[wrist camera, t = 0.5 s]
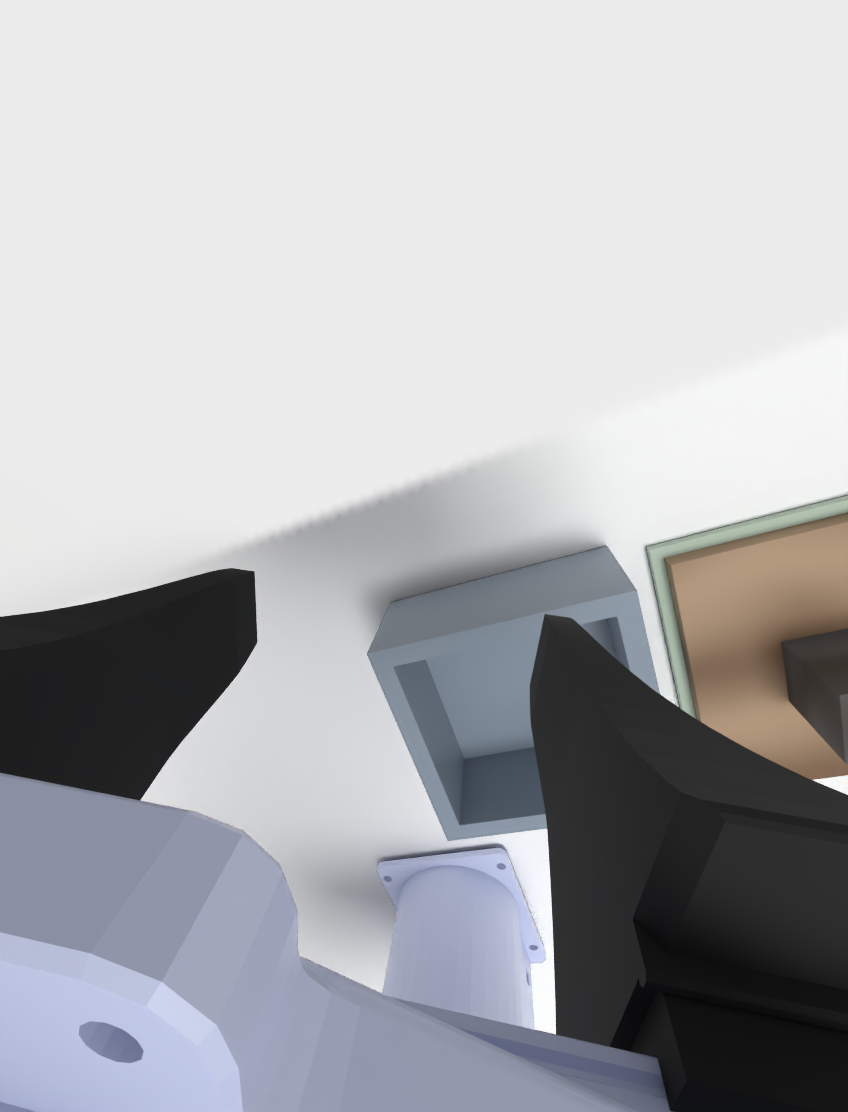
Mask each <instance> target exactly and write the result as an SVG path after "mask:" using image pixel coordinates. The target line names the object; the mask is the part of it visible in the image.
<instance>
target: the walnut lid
mask: <svg viewBox="0 0 848 1112" xmlns="http://www.w3.org/2000/svg"><path fill="white" fill-rule="evenodd" d="M664 560H665V565H666V570H667V575H668V580H669V585H670V590H671V595H672V600H673V605H674V610H675V615H676V620H677V625H678V630H679V635H680V640H681V645H682V650H683V655H684V660H685V665H686V670H687V675H688V680H689V685H690V690H691V695H692V700H693V705H694V710H695V715H696V719H697V720H699V721H700V722H702V723H703V724H705V725H707V726H708V727H710V728H712V729H714V730H715V731H717V732H719V733H721V734H722V735H724V736H726V737H728V738H729V739H731V740H733V741H735V742H736V743H738V744H740V745H742V746H744V747H745V748H747V749H749V750H751V751H753V752H755V753H757V754H759V755H761V756H763V757H765V758H767V759H769V760H771V761H773V762H775V763H777V764H779V765H781V766H783V767H785V768H787V769H789V770H792V771H794V772H796V773H798V774H800V775H802V776H804V777H806V778H808V779H810V780H814V779H821V778H829V777H836V776H844V775H848V512H847V513H843V514H839V515H835V516H831V517H827V518H823V519H819V520H815V521H811V522H807V523H803V524H799V525H795V526H791V527H787V528H783V529H779V530H774V531H770V532H766V533H762V534H758V535H754V536H750V537H746V538H742V539H738V540H734V541H730V542H726V543H722V544H718V545H714V546H710V547H706V548H702V549H698V550H694V551H690V552H686V553H682V554H678V555H674V556H670V557H666V558H664Z"/></svg>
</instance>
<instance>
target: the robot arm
mask: <svg viewBox="0 0 848 1112" xmlns="http://www.w3.org/2000/svg"><path fill="white" fill-rule="evenodd" d="M256 644H257V624H256V599H255V575H254V571H247V570H240V569H233V568H230V569H222V570H217V571H212V572H208V573H204V574H200V575H196V576H193V577H189V578H186V579H182V580H178V581H175V582H171V583H168V584H164V585H161V586H157V587H153V588H150V589H146V590H142V591H138V592H134V593H130V594H126V595H122V596H118V597H114V598H110V599H106V600H102V601H97V602H92V603H87V604H83V605H77V606H72V607H66V608H61V609H55V610H49V611H43V612H36V613H28V614H20V615H12V616H4V617H0V1112H848V795H846V794H844V793H841V792H839V791H836V790H834V789H831V788H829V787H827V786H824V785H822V784H819V783H817V782H815V781H813V780H810V779H808V778H806V777H804V776H802V775H800V774H798V773H796V772H794V771H792V770H789V769H787V768H785V767H783V766H781V765H779V764H777V763H775V762H773V761H771V760H769V759H767V758H765V757H763V756H761V755H759V754H757V753H755V752H753V751H751V750H749V749H747V748H745V747H744V746H742V745H740V744H738V743H736V742H735V741H733V740H731V739H729V738H728V737H726V736H724V735H722V734H721V733H719V732H717V731H715V730H714V729H712V728H710V727H708V726H707V725H705V724H703V723H702V722H700V721H699V720H697V719H695V718H694V717H692V716H691V715H689V714H688V713H686V712H685V711H683V710H682V709H680V708H679V707H677V706H676V705H674V704H673V703H671V702H670V701H669V700H667V699H666V698H664V697H663V696H661V695H660V694H659V693H657V692H656V691H655V690H653V689H652V688H651V687H649V686H648V685H647V684H646V683H644V682H643V681H642V680H641V679H639V678H638V677H637V676H636V675H634V674H633V673H632V672H631V671H630V670H628V669H627V668H626V667H625V666H624V665H623V664H621V663H620V662H619V661H618V660H617V659H616V658H615V657H614V656H612V655H611V654H610V653H609V652H608V651H607V650H606V649H605V648H604V647H603V646H602V645H601V644H599V643H598V642H597V641H596V640H595V639H594V638H593V637H592V636H591V635H590V634H589V633H588V632H587V631H586V630H585V629H584V628H583V627H581V626H580V625H579V624H578V623H577V622H576V621H575V620H573V619H572V618H569V617H562V616H556V615H549V614H545V615H544V620H543V624H542V629H541V634H540V639H539V643H538V648H537V653H536V658H535V662H534V667H533V672H532V677H531V682H530V721H531V729H532V735H533V741H534V747H535V754H536V759H537V765H538V771H539V777H540V783H541V789H542V795H543V801H544V807H545V814H546V822H547V830H548V845H549V861H550V877H551V897H552V918H553V941H554V970H555V999H556V1035H555V1034H551V1033H547V1032H542V1031H538V1030H534V1014H533V998H532V982H531V966H530V964H532V963H542V962H544V961H545V960H546V955H545V950H544V947H543V945H542V942H541V939H540V937H539V934H538V932H537V929H536V926H535V924H534V921H533V919H532V916H531V913H530V911H529V908H528V906H527V903H526V901H525V898H524V895H523V893H522V890H521V888H520V885H519V882H518V880H517V877H516V875H515V872H514V869H513V867H512V864H511V862H510V859H509V857H508V854H507V852H506V851H505V850H503V849H501V848H491V849H483V850H474V851H466V852H458V853H449V854H441V855H433V856H424V857H416V858H408V859H399V860H391V861H383V862H380V863H379V864H378V868H377V873H378V875H379V877H380V879H381V881H382V883H383V885H384V887H385V889H386V891H387V893H388V895H389V897H390V899H391V901H392V903H393V905H394V907H395V909H396V911H397V914H396V920H395V925H394V931H393V936H392V942H391V947H390V953H389V958H388V964H387V969H386V975H385V981H384V986H383V992H382V993H379V992H377V991H375V990H373V989H371V988H369V987H366V986H364V985H362V984H360V983H358V982H356V981H353V980H351V979H349V978H347V977H345V976H343V975H340V974H338V973H336V972H334V971H332V970H330V969H327V968H325V967H323V966H321V965H319V964H316V963H314V962H312V961H310V960H308V959H306V958H303V957H301V956H299V953H298V931H297V908H296V906H295V903H294V900H293V897H292V895H291V892H290V889H289V887H288V884H287V881H286V878H285V876H284V873H283V871H282V869H281V867H280V865H279V863H278V862H277V861H276V860H275V859H274V858H273V857H272V856H271V855H269V854H268V853H267V852H266V851H265V850H264V849H263V848H262V847H261V846H260V845H258V844H257V843H256V842H255V841H254V840H253V839H252V838H251V837H250V836H249V835H247V834H246V833H245V832H244V831H243V830H240V829H238V828H235V827H233V826H230V825H228V824H225V823H223V822H220V821H218V820H215V819H213V818H210V817H208V816H205V815H203V814H200V813H198V812H194V811H189V810H184V809H179V808H174V807H169V806H164V805H159V804H154V803H149V802H144V801H140V800H141V798H142V797H143V795H144V794H145V792H146V791H147V789H148V788H149V786H150V785H151V783H152V782H153V780H154V779H155V778H156V776H157V775H158V773H159V772H160V770H161V769H162V767H163V766H164V764H165V763H166V761H167V760H168V759H169V757H170V756H171V755H172V753H173V752H174V751H175V749H176V748H177V747H178V746H179V744H180V743H181V742H182V741H183V739H184V738H185V737H186V736H187V735H188V733H189V732H190V731H191V730H192V729H193V728H194V726H195V725H196V724H197V723H198V722H199V720H200V719H201V718H202V717H203V716H204V714H205V713H206V712H207V711H208V710H209V709H210V707H211V706H212V705H213V704H214V703H215V701H216V700H217V699H218V698H219V697H220V695H221V694H222V693H223V692H224V691H225V689H226V688H227V687H228V686H229V685H230V683H231V682H232V681H233V680H234V678H235V677H236V676H237V675H238V673H239V672H240V670H241V669H242V667H243V665H244V664H245V662H246V661H247V659H248V657H249V656H250V654H251V652H252V651H253V649H254V647H255V645H256Z"/></svg>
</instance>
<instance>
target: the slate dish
mask: <svg viewBox="0 0 848 1112" xmlns="http://www.w3.org/2000/svg"><path fill="white" fill-rule="evenodd" d="M545 614H549V615H556V616H562V617H569V618H572V619H573V620H575V621H576V622H577V623H578V624H579V625H580V626H581V627H583V628H584V629H585V630H586V631H587V632H588V633H589V634H590V635H591V636H592V637H593V638H594V639H595V640H596V641H597V642H598V643H599V644H601V645H602V646H603V647H604V648H605V649H606V650H607V651H608V652H609V653H610V654H611V655H612V656H614V657H615V658H616V659H617V660H618V661H619V662H620V663H621V664H623V665H624V666H625V667H626V668H627V669H628V670H630V671H631V672H632V673H633V674H634V675H636V676H637V677H638V678H639V679H641V680H642V681H643V682H644V683H646V684H647V685H648V686H649V687H651V688H652V689H653V690H655V691H656V692H657V693H659V694H660V692H659V688H658V683H657V679H656V674H655V670H654V666H653V661H652V657H651V652H650V648H649V643H648V639H647V634H646V630H645V625H644V621H643V616H642V612H641V607H640V603H639V598H638V594H637V590H636V588H635V587H634V585H633V584H632V582H631V581H630V579H629V578H628V576H627V575H626V573H625V572H624V570H623V569H622V567H621V566H620V565H619V563H618V562H617V560H616V559H615V557H614V556H613V554H612V553H611V551H610V550H609V548H608V547H607V546H604V547H600V548H597V549H593V550H589V551H585V552H581V553H577V554H574V555H570V556H566V557H562V558H558V559H555V560H551V561H547V562H543V563H539V564H535V565H532V566H528V567H524V568H520V569H516V570H512V571H509V572H505V573H501V574H497V575H493V576H489V577H486V578H482V579H478V580H474V581H470V582H467V583H463V584H459V585H455V586H451V587H447V588H444V589H440V590H436V591H432V592H428V593H424V594H421V595H417V596H413V597H409V598H405V599H401V600H398V601H394V602H390V605H389V607H388V609H387V611H386V613H385V615H384V618H383V620H382V622H381V624H380V626H379V629H378V631H377V633H376V635H375V637H374V640H373V642H372V644H371V646H370V648H369V650H368V653H367V655H368V658H369V660H370V662H371V665H372V667H373V669H374V671H375V674H376V676H377V678H378V681H379V683H380V685H381V688H382V690H383V692H384V695H385V697H386V699H387V701H388V704H389V706H390V708H391V711H392V713H393V715H394V718H395V720H396V722H397V725H398V727H399V729H400V731H401V734H402V736H403V738H404V741H405V743H406V745H407V748H408V750H409V752H410V755H411V757H412V759H413V761H414V764H415V766H416V768H417V771H418V773H419V775H420V778H421V780H422V782H423V785H424V787H425V789H426V791H427V794H428V796H429V798H430V801H431V803H432V805H433V808H434V810H435V812H436V815H437V817H438V819H439V821H440V824H441V826H442V828H443V831H444V833H445V835H446V838H447V840H448V841H451V840H459V839H466V838H474V837H482V836H490V835H498V834H506V833H514V832H522V831H530V830H538V829H546V828H547V822H546V814H545V807H544V801H543V795H542V789H541V783H540V777H539V771H538V765H537V759H536V754H535V747H534V741H533V735H532V729H531V721H530V682H531V677H532V672H533V667H534V662H535V658H536V653H537V648H538V643H539V639H540V634H541V629H542V624H543V620H544V615H545Z"/></svg>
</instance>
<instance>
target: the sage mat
mask: <svg viewBox="0 0 848 1112" xmlns="http://www.w3.org/2000/svg"><path fill="white" fill-rule="evenodd" d="M847 512H848V495H847V496H843V497H840V498H836V499H832V500H828V501H824V502H820V503H816V504H812V505H808V506H804V507H800V508H797V509H793V510H789V511H785V512H781V513H777V514H773V515H769V516H765V517H761V518H757V519H754V520H750V521H746V522H742V523H738V524H734V525H730V526H726V527H722V528H718V529H714V530H711V531H707V532H703V533H699V534H695V535H691V536H687V537H683V538H679V539H675V540H672V541H668V542H664V543H660V544H656V545H652V546H648V547H646V548H647V553H648V558H649V562H650V567H651V572H652V577H653V581H654V586H655V591H656V596H657V600H658V605H659V610H660V615H661V619H662V624H663V629H664V634H665V638H666V643H667V648H668V653H669V657H670V662H671V667H672V672H673V676H674V681H675V686H676V691H677V695H678V700H679V705H680V709H682V710H683V711H685V712H686V713H688V714H689V715H691V716H692V717H694V718H695V719H696V715H695V710H694V705H693V700H692V695H691V690H690V685H689V680H688V675H687V670H686V665H685V660H684V655H683V650H682V645H681V640H680V635H679V630H678V625H677V620H676V615H675V610H674V605H673V600H672V595H671V590H670V585H669V580H668V575H667V570H666V565H665V560H664V558H666V557H670V556H674V555H678V554H682V553H686V552H690V551H694V550H698V549H702V548H706V547H710V546H714V545H718V544H722V543H726V542H730V541H734V540H738V539H742V538H746V537H750V536H754V535H758V534H762V533H766V532H770V531H774V530H779V529H783V528H787V527H791V526H795V525H799V524H803V523H807V522H811V521H815V520H819V519H823V518H827V517H831V516H835V515H839V514H843V513H847Z"/></svg>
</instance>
